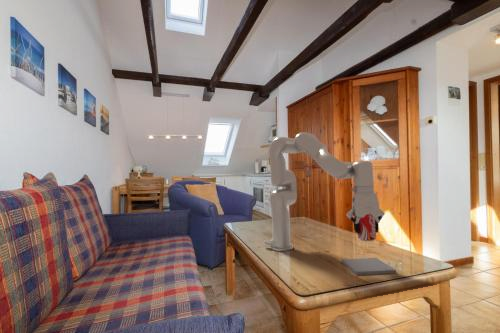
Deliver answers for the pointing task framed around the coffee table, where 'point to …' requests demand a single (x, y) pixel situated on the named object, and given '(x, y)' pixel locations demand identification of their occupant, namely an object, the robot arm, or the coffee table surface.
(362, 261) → the slate board
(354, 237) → the coffee table surface
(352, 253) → the coffee table surface
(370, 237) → the soda can
